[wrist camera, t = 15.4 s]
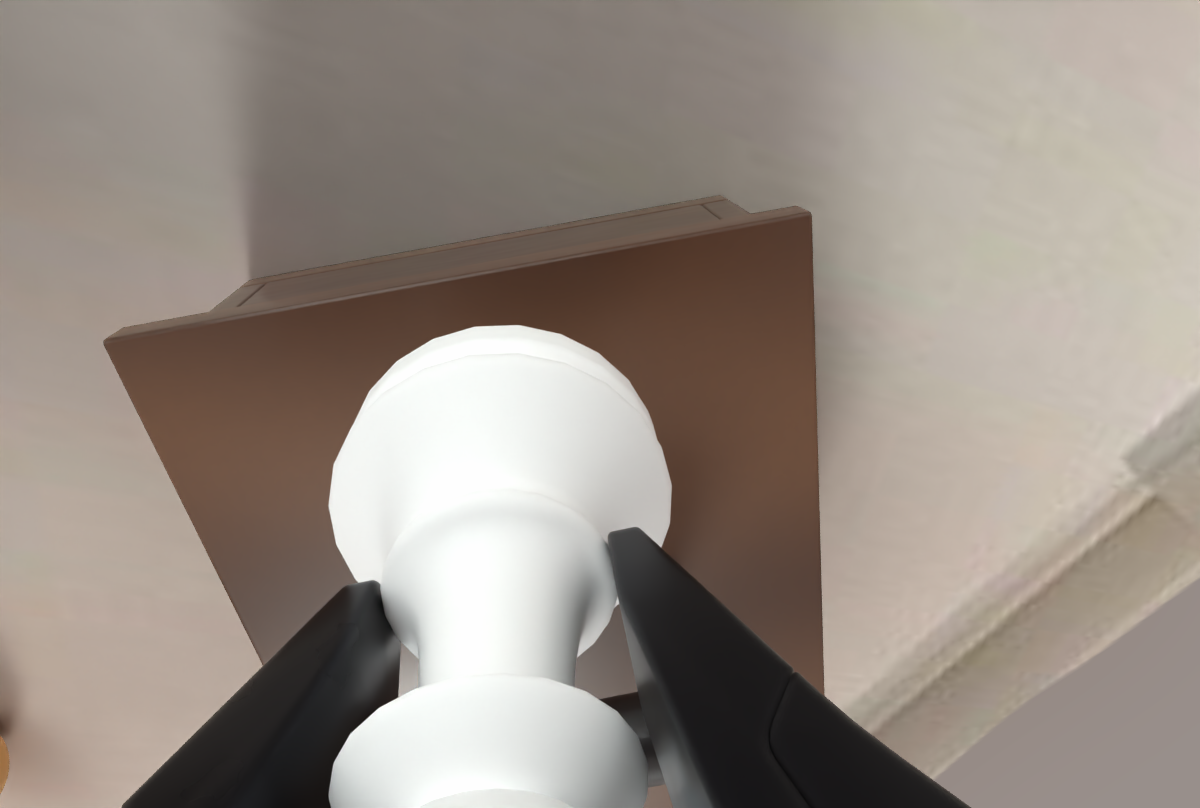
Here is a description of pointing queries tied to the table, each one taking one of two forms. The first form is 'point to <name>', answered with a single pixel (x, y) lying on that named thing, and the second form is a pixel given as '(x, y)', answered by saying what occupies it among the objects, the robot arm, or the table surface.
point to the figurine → (3, 764)
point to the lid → (542, 301)
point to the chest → (481, 250)
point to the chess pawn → (496, 569)
